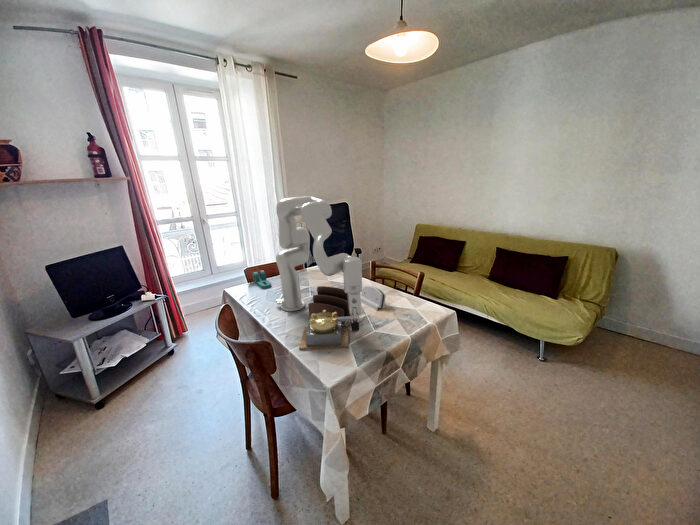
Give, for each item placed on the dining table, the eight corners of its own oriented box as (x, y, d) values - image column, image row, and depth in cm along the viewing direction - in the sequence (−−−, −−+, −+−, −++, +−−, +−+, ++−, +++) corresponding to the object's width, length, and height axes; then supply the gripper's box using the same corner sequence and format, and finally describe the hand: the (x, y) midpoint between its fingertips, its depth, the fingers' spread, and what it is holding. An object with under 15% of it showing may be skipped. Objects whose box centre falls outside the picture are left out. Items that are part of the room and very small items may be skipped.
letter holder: (319, 308, 147) (317, 284, 142) (353, 315, 138) (352, 289, 134) (308, 317, 138) (306, 291, 134) (344, 325, 130) (342, 297, 125)
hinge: (357, 299, 155) (361, 282, 154) (363, 300, 157) (368, 283, 156) (377, 310, 141) (381, 292, 140) (383, 310, 144) (388, 292, 143)
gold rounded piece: (309, 340, 113) (307, 323, 111) (312, 325, 125) (310, 309, 122) (360, 337, 113) (359, 320, 111) (358, 322, 125) (357, 306, 123)
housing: (299, 349, 112) (297, 336, 110) (305, 329, 127) (303, 317, 126) (348, 347, 112) (347, 334, 110) (348, 327, 127) (347, 315, 125)
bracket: (253, 282, 189) (251, 271, 187) (263, 279, 193) (261, 269, 191) (262, 289, 175) (261, 278, 173) (272, 287, 179) (271, 275, 177)
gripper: (364, 295, 105) (365, 335, 110) (360, 279, 122) (361, 314, 127) (344, 296, 105) (346, 337, 110) (343, 280, 121) (345, 315, 127)
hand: (354, 324), depth 119 cm, fingers open, 7 cm apart
